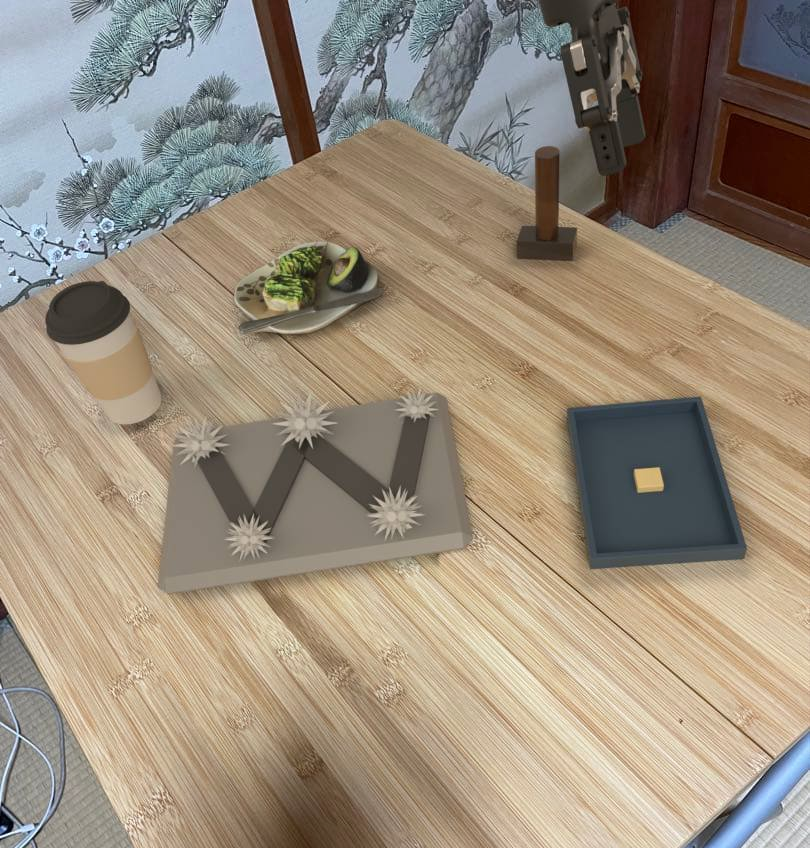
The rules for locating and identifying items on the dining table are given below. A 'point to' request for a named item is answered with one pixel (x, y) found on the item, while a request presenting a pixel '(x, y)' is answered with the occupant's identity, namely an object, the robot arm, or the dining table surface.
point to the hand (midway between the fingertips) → (624, 157)
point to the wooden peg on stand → (547, 215)
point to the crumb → (648, 480)
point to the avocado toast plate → (306, 289)
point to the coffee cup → (105, 349)
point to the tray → (661, 510)
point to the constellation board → (312, 493)
